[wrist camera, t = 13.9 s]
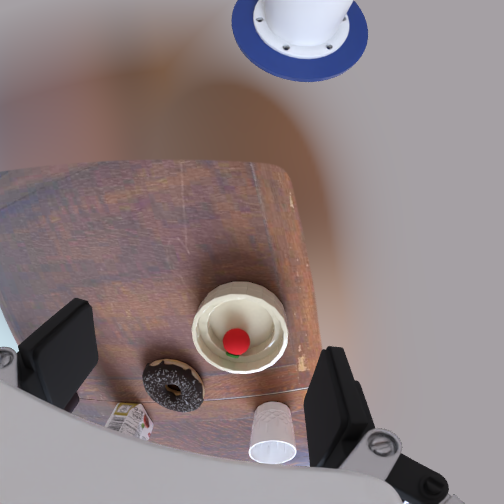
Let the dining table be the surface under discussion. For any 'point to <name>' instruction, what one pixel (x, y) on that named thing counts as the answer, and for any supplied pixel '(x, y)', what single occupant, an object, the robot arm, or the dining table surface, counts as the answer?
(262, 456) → the white cup
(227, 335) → the tomato
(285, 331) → the bowl
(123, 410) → the juice carton
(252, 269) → the dining table surface
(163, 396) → the donut
